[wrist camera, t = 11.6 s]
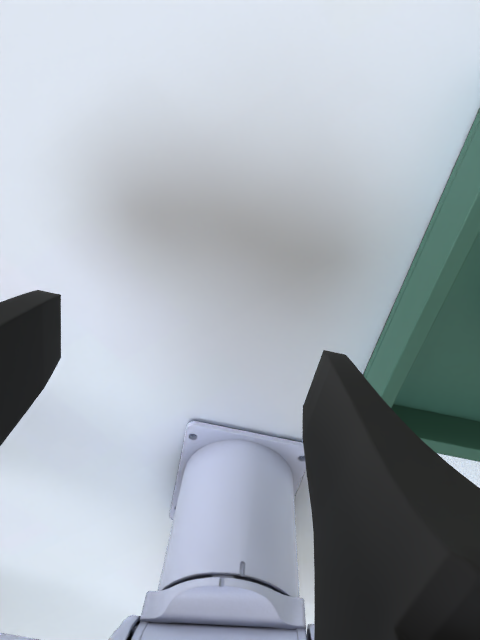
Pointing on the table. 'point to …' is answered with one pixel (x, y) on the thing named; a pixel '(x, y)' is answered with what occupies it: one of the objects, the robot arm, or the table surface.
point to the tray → (439, 323)
